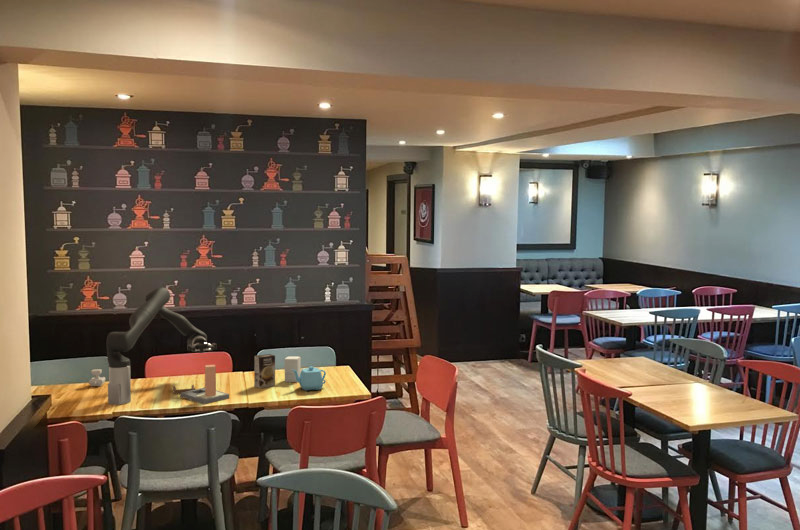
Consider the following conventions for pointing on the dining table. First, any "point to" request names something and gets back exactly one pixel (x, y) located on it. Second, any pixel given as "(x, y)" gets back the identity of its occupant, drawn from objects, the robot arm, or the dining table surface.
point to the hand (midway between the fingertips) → (203, 349)
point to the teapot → (310, 378)
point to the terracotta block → (210, 380)
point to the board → (203, 396)
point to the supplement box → (292, 368)
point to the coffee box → (264, 371)
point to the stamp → (97, 378)
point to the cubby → (182, 390)
